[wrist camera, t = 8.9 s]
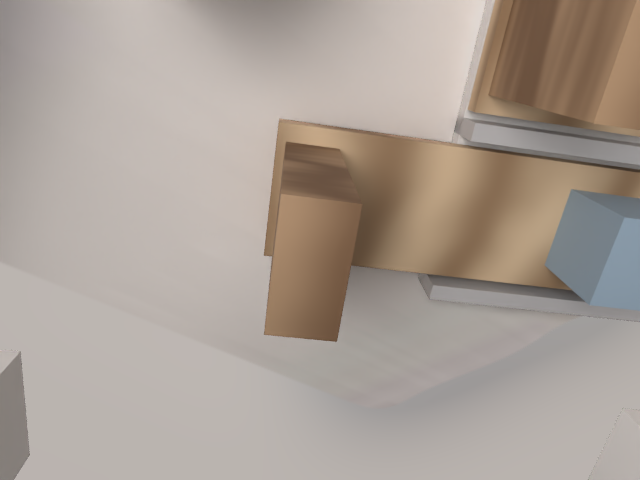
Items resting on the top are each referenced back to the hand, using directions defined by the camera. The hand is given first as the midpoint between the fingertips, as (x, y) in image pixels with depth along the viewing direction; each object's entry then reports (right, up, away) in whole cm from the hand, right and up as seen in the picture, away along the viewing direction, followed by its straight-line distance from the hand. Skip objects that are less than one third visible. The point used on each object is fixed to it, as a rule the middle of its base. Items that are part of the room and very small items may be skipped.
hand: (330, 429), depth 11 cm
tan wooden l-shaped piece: (+9, +6, +19) cm, 22 cm away
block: (+17, +5, +19) cm, 26 cm away
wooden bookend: (+14, +15, +16) cm, 26 cm away
